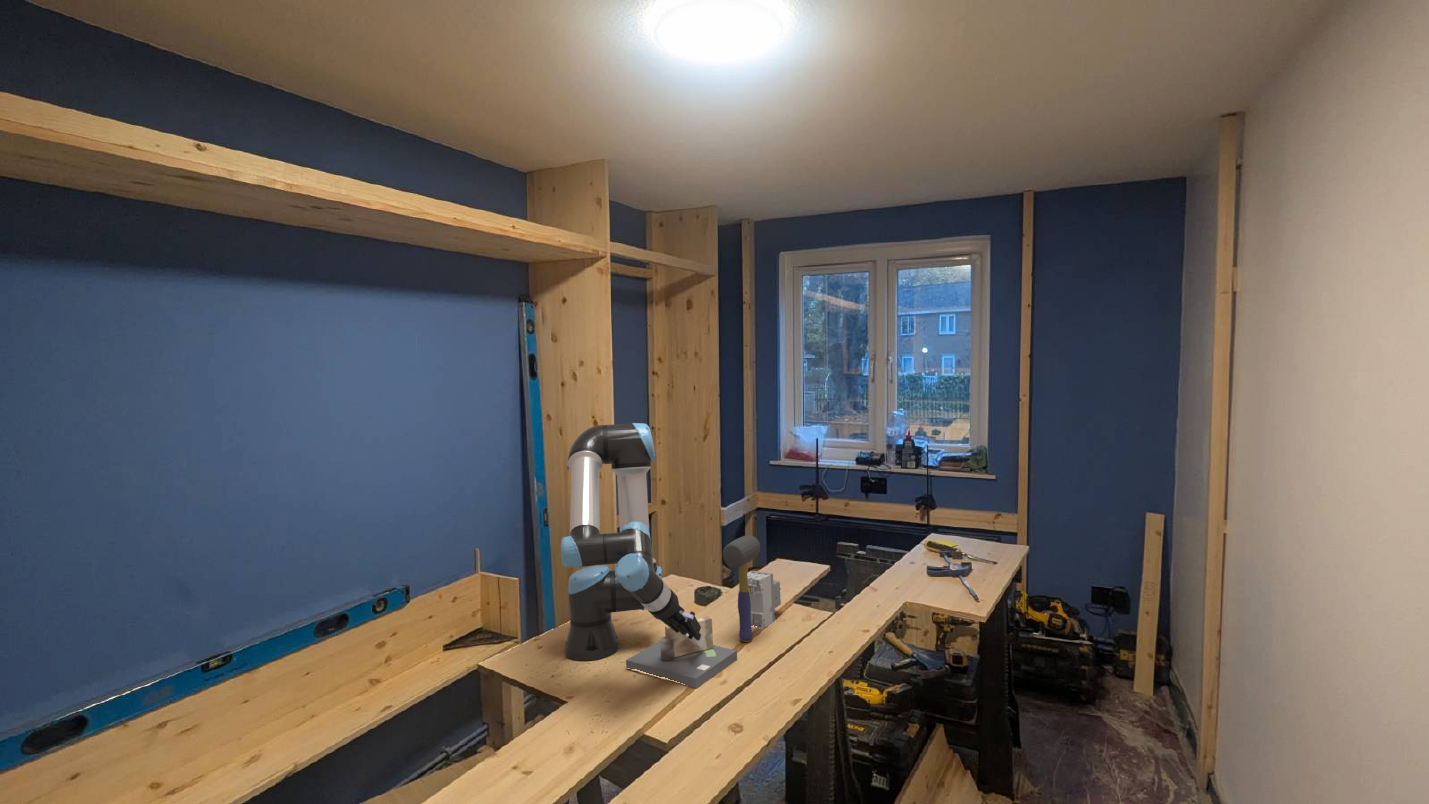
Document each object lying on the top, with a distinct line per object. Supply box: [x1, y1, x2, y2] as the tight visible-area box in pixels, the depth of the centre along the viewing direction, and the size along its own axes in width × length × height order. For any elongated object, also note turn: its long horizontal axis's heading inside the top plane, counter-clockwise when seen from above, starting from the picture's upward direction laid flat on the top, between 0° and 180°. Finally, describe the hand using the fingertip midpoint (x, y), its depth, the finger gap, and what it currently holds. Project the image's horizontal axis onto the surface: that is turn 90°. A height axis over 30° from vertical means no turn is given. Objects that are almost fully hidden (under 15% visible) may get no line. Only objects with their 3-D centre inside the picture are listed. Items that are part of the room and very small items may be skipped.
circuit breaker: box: [747, 570, 782, 630], centre depth 201 cm, size 8×14×15 cm, turn 148°
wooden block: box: [659, 616, 714, 660], centre depth 172 cm, size 15×4×8 cm, turn 117°
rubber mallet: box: [722, 535, 761, 643], centre depth 185 cm, size 12×8×30 cm, turn 151°
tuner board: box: [625, 640, 738, 689], centre depth 171 cm, size 23×19×2 cm
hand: (700, 642), depth 171 cm, fingers closed
